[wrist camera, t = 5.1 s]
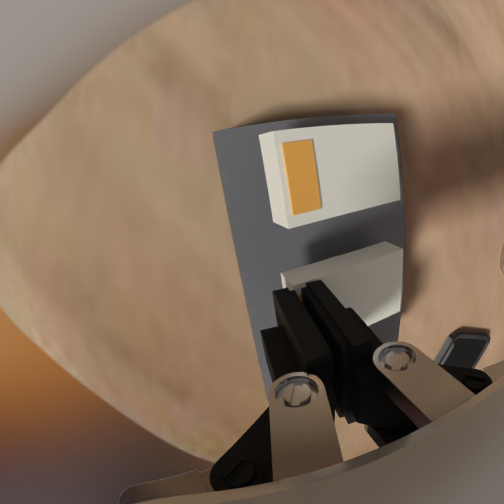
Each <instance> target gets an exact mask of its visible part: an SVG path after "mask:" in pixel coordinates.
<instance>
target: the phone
mask: <svg viewBox="0 0 504 504" xmlns="http://www.w3.org/2000/svg"><path fill="white" fill-rule="evenodd" d="M474 333H476V334H474ZM483 333H484V332H474V331H465V330H456V331H454V332H452V333H451V334H450V335H449V336H448V338H447V339H446V341H445V343H444V344H443V346H442V348H441V350H440V351H439V353H438V355H437V356H436V358H435V360H434V362H435V363H437V364H441V365H448V366H456V367H464V368H472V369H474V368H475V366H476V365H477V363H478V362H479V360H480V358H481V357H482V355H483V353H484V352H485V350H486V348H487V346H488V344H489V342H490V336H488V335H487V334H486V333H484V334H483Z"/></svg>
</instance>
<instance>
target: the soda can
mask: <svg viewBox="0 0 504 504" xmlns="http://www.w3.org/2000/svg"><path fill="white" fill-rule="evenodd" d="M500 267H501V271H502V273H503V274H504V245H503V249H502V253H501V259H500Z"/></svg>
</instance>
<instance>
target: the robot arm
mask: <svg viewBox="0 0 504 504" xmlns="http://www.w3.org/2000/svg"><path fill="white" fill-rule="evenodd" d="M272 294H273V301H274V307H275V314H276V320H277V326H276V327H272V328H268V329H263V330H260V333H261V338H262V344H263V349H264V353H265V358H266V362H267V366H268V369H269V373H270V376H271V380H272V383H273V384H272V385H271V387H270V389H269V394H268V398H269V407H268V408H267V409H266V410H265V411H264V413H263V414H262V415H261V416H260V417H259V418H258V419H257V420H256V421H255V423H254V424H253V425H252V426H251V427H250V428H249V429H248V430H247V431H246V432H245V433H244V434H243V436H242V437H241V438H240V439H239V440H238V441H237V442H236V443H235V444H234V445H233V446H232V447H231V448H230V449H229V450H228V451H227V452H226V453H225V454H224V455H223V456H222V457H221V458H220V459H219V460H218V461H217V462H216V463H215V465H214V466H213V467H212V469H209V470H206V471H203V472H200V471H199V470H195V471H192V472H188V473H184V474H181V475H177V476H173V477H169V478H165V479H161V480H156V481H152V482H147V483H142V484H137V485H134V486H131V487H128V488H127V489H126V490H125V491H124V492H123V493H122V494H121V496H120V498H119V504H504V360H503V361H501V362H498V363H496V364H493V365H491V366H488V367H485V368H483V371H481V370H477V369H472V368H464V367H456V366H448V365H441V364H437V363H435V362H434V361H433V360H431V359H430V358H429V357H428V356H426V355H425V354H424V353H423V352H421V351H420V350H419V349H417V348H416V347H415V346H413V345H411V344H409V343H406V342H399V341H395V342H388V343H386V344H383V343H382V342H381V341H380V340H379V338H378V337H377V336H376V335H375V334H374V333H373V331H372V330H371V329H370V328H369V327H368V326H367V324H366V323H365V322H364V321H363V320H362V319H361V318H360V316H359V315H358V314H357V313H356V312H355V311H354V310H353V309H352V308H350V307H349V308H345V307H344V306H343V305H342V304H341V302H340V301H339V300H338V299H337V298H336V296H335V295H334V294H333V293H332V292H331V291H330V289H329V288H328V287H327V286H326V285H325V284H324V282H323V281H322V280H317V281H312V282H308V283H306V287H304V288H301V294H302V299H303V303H302V302H301V300H300V298H299V297H298V295H297V293H296V292H295V290H292V291H290V290H289V289H288V287H287V288H283V289H278V290H274V291H272ZM335 410H336V412H337V414H338V416H339V417H340V418H341V417H344V416H345V418H346V420H347V422H348V424H350V423H353V422H356V421H357V422H358V423H362V424H364V428H365V430H366V432H367V433H368V434H369V436H370V437H371V438H372V439H373V441H374V442H375V443H376V444H377V446H378V447H379V448H378V449H376V450H373V451H371V452H368V453H366V454H363V455H361V456H358V457H355V458H353V459H350V460H347V461H343V457H342V453H341V449H340V445H339V441H338V437H337V433H336V429H335V425H334V419H335Z"/></svg>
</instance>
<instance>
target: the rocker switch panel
mask: <svg viewBox="0 0 504 504" xmlns="http://www.w3.org/2000/svg"><path fill="white" fill-rule="evenodd" d="M368 123H393V126H394V133H395V141H396V149H397V159H398V169H399V182H400V199H401V200H398V201H394V202H390V203H386V204H382V205H378V206H374V207H371V208H367V209H363V210H359V211H355V212H351V213H347V214H344V215H340V216H336V217H332V218H328V219H325V220H321V221H317V222H313V223H309V224H306V225H302V226H298V227H294V228H291V229H287V228H285V227H283V226H281V225H279V224H277V223H274V222H273V217H272V211H271V205H270V199H269V193H268V187H267V181H266V175H265V169H264V163H263V157H262V152H261V146H260V140H259V135H260V134H264V133H268V132H272V131H278V130H287V129H296V128H306V127H317V126H330V125H345V124H368ZM213 139H214V145H215V150H216V155H217V160H218V166H219V171H220V176H221V181H222V186H223V191H224V197H225V202H226V207H227V212H228V217H229V222H230V227H231V232H232V237H233V242H234V246H235V251H236V256H237V261H238V266H239V271H240V276H241V280H242V285H243V290H244V295H245V299H246V304H247V309H248V314H249V318H250V323H251V327H252V332H253V337H254V341H255V346H256V350H257V355H258V360H259V364H260V368H261V373H262V377H263V381H264V385H265V390H266V394H267V398H268V394H269V389H270V387H271V385H272V384H273V383H272V380H271V376H270V373H269V369H268V366H267V362H266V358H265V353H264V349H263V344H262V338H261V333H260V330H263V329H268V328H272V327H276V326H277V320H276V314H275V307H274V301H273V294H272V291H274V290H278V289H283V286H282V279H281V273H282V272H285V271H289V270H292V269H296V268H299V267H302V266H306V265H309V264H313V263H316V262H319V261H323V260H326V259H328V258H330V257H333V256H339V255H343V254H346V253H349V252H352V251H356V250H359V249H362V248H365V247H368V246H372V245H375V244H378V243H381V242H384V241H386V242H388V243H391V244H393V245H395V246H398V247H400V248H402V249H403V274H402V292H401V305H400V311H399V312H397V313H395V314H393V315H391V316H389V317H387V318H384V319H382V320H380V321H378V322H376V323H373V324H371V325H369V326H368V327H369V328H370V329H371V330H372V331H373V333H374V334H375V335H376V336H377V337H378V338H379V340H380V341H381V342H382V343H383V344H385V343H388V342H395V341H398V335H399V326H400V317H401V306H402V294H403V278H404V250H405V221H404V193H403V177H402V165H401V155H400V145H399V137H398V130H397V123H396V116H395V114H360V115H339V116H325V117H313V118H302V119H293V120H284V121H276V122H269V123H262V124H255V125H248V126H242V127H236V128H231V129H225V130H220V131H215V132H213ZM268 402H269V398H268Z"/></svg>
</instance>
